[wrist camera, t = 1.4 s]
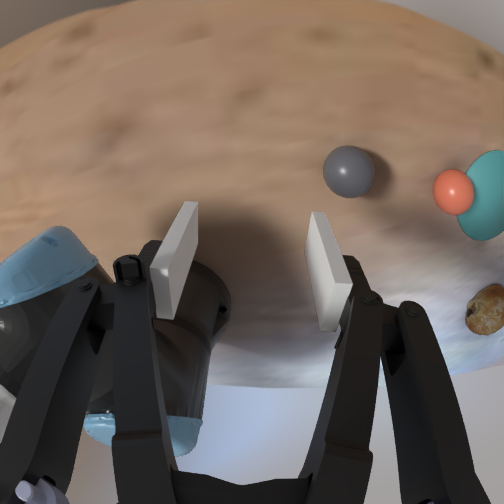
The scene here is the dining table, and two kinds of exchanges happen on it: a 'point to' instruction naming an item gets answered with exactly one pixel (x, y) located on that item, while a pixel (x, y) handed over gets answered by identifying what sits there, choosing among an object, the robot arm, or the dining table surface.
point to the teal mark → (485, 197)
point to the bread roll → (486, 311)
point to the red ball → (453, 192)
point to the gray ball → (349, 171)
